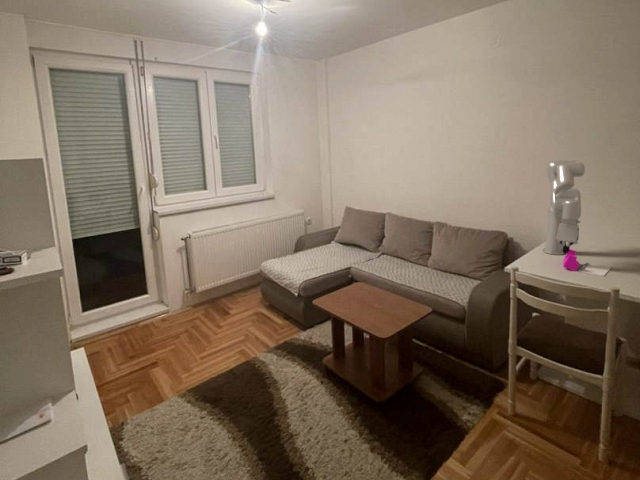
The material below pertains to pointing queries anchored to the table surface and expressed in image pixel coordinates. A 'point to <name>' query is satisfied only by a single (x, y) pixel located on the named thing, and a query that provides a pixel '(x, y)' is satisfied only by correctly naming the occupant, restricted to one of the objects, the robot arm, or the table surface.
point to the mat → (594, 269)
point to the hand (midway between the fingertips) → (565, 252)
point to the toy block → (571, 260)
